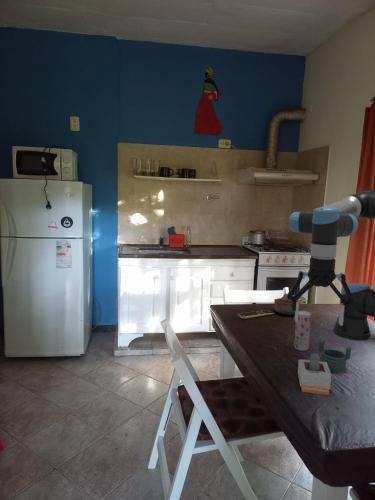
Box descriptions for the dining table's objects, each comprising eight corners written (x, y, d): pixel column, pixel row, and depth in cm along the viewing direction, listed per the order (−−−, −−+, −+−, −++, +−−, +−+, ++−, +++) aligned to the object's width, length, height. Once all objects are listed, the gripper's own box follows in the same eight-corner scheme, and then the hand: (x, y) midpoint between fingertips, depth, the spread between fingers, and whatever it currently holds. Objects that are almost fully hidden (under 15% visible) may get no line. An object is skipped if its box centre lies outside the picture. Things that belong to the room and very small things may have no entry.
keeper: (323, 376, 121) (325, 347, 119) (328, 395, 109) (331, 363, 108) (298, 373, 122) (300, 345, 121) (301, 391, 111) (304, 360, 109)
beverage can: (310, 347, 145) (312, 312, 143) (307, 352, 140) (309, 315, 138) (296, 344, 148) (298, 309, 146) (292, 349, 143) (294, 313, 141)
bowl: (266, 304, 199) (272, 288, 198) (290, 312, 199) (296, 295, 198) (273, 314, 181) (280, 296, 180) (299, 322, 182) (306, 304, 180)
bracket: (315, 361, 132) (317, 339, 131) (339, 361, 133) (341, 339, 131) (326, 373, 123) (328, 349, 122) (352, 373, 124) (354, 349, 122)
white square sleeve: (330, 390, 110) (331, 375, 110) (300, 386, 112) (301, 371, 112) (325, 376, 119) (326, 362, 118) (297, 372, 121) (298, 359, 120)
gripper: (362, 257, 112) (356, 321, 115) (281, 253, 117) (277, 315, 120) (369, 261, 105) (363, 329, 108) (282, 257, 110) (278, 322, 113)
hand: (318, 322), depth 114 cm, fingers open, 13 cm apart
